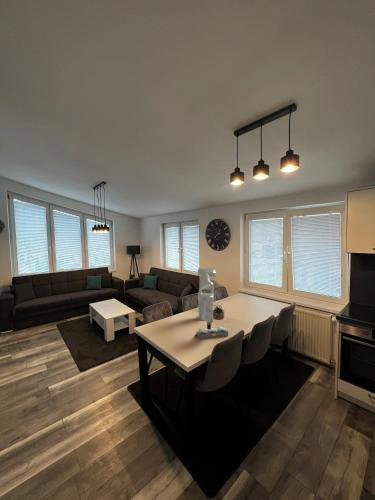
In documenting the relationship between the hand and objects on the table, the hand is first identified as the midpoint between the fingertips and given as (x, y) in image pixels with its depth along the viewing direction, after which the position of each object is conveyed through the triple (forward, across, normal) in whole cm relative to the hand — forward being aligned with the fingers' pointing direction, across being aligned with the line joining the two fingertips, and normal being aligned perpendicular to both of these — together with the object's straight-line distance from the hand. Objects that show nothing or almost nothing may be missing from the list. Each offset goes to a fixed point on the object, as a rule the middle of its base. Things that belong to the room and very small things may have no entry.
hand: (209, 328), depth 189 cm
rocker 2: (+1, 0, +4) cm, 4 cm away
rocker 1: (+1, 0, -6) cm, 6 cm away
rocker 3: (+1, 0, +13) cm, 13 cm away
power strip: (+8, -1, +3) cm, 8 cm away
